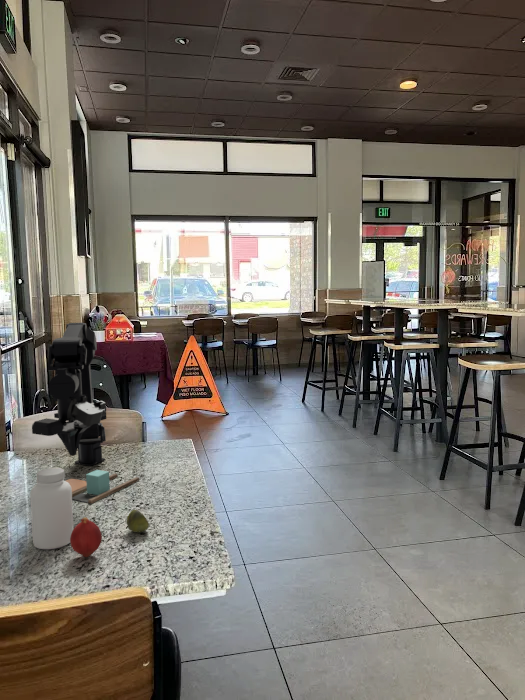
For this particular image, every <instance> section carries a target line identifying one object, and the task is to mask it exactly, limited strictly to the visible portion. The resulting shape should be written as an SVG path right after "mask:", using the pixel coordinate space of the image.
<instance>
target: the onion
mask: <svg viewBox="0 0 525 700" xmlns="http://www.w3.org/2000/svg"><path fill="white" fill-rule="evenodd" d="M102 539H103V536H102V530H101V529H100V527H99V526H98V525H97V524H96V523H95V522H94V521H92V520H89V518H88V517H83V518H82V519H80V522H79V523H78V524H76V525H75V526H74V527H73V531H72V534H71V537H70V543H69V544H70V546H71V548H72V550H73V551H74V552H75V553H77V554H78V555H81V556H82V557H84V558H89V557H90V556H91V555H93V553H95V552H96V551H97V550H98V549H99V547H100V546H101V544H102Z"/></svg>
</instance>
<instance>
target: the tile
mask: <svg viewBox="0 0 525 700" xmlns="http://www.w3.org/2000/svg"><path fill="white" fill-rule="evenodd" d="M65 481H66V482H68V483H69V484H70V486H71V489H72V492H74V491H76V490H79V489H81V488H83V487H85V486H87V483H86V480H81V479H77V478H69V479H66V480H65Z"/></svg>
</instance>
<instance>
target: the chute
mask: <svg viewBox="0 0 525 700" xmlns="http://www.w3.org/2000/svg"><path fill="white" fill-rule="evenodd" d="M118 476H119V475H118V473H113V474H109V481H112V480H114V479H116V478H118ZM139 481H140V477H137V476H136V477H133V478H131V479H130V480H127V481H125V482H122V483H120V484H118V485H116V486H115V487H113V488H110V490H108V491H106V492H104V493H102V494H100V495H94V494H88V493H85V492H87V486H85V487H83V488H81V489H79V490H76V491H74V492H72V501H77V502H82V503H87V504H94V503H97V502H98V501H100V500H103V499H104V498H106V497H108V496H110V495H112V494H115V493H116V492H118V491H121V490H123V489H124V488H127V487H129V486H130V485H133V484H135V483H137V482H139Z"/></svg>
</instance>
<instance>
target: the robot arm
mask: <svg viewBox="0 0 525 700" xmlns="http://www.w3.org/2000/svg"><path fill="white" fill-rule="evenodd" d="M96 337H97V336H96V333H95V332H94V331H93V330H92V329H90V328H88V326H87V323H84V322H69V323H66V325H65V331H64V333H63V335H62V337H57V338H54V339H53V341H52V342H51V344H50V345H49V347H48V359H47V370H48V371H51V372H52V371H54V376H53V377H52V378H51V379H50V381H49V383H48V391H49V394H50V395H51V396H52V398H53V401H54V402H56V403H57V412H56V413H54V415H53V416H54V419H53V418H47V417H46V418H43V419H39V420H36V421H34V422H33V423H32V425H31V430H32V431H31V433H32V435H33V434H34V435H39V436H46V437H47V436H48V437H51V436H55V435H57V437H59V439H60V441H61V442H62V444H63V445H64V447H65V449H66V450H67V452H68V454H69V455H70V456H73V457H74V456H76V455H78V456H77V457H78V460H75V461H74V464H75V465H82V466H87V467H92V466H93V465H96V464H99V463H103V462H104V461H106V458H104V457H103V452H102V451H103V450H102V444H103V443H105V442H106V441H107V440H106V436H107V435H106V429H105V427H104V425H103V423H102V422H101V421H104V420H107V405H106V402H105V401H103V400H99V401H96V402H95V403H94V398H93V385H92V373H91V372H92V371H91V363H92V361H93V360H94V357H95V354H96V351H97V349H98V348H97V347H98V343H97V338H96Z"/></svg>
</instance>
